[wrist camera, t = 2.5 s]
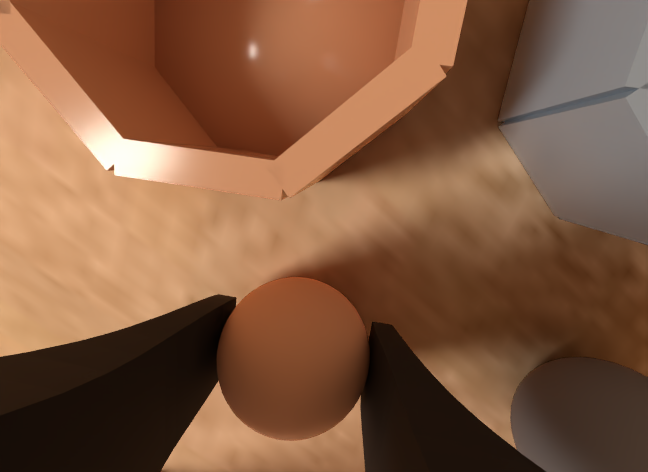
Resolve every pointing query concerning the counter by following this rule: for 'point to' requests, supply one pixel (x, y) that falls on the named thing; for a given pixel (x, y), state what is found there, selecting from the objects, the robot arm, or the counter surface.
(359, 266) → the counter surface
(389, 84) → the terracotta octagonal bowl
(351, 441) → the counter surface
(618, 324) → the counter surface
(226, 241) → the counter surface
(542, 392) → the charcoal ball
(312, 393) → the terracotta ball
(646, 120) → the slate cup
